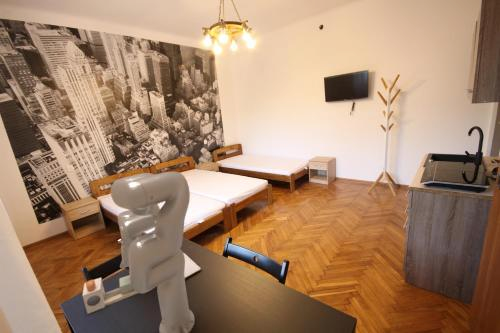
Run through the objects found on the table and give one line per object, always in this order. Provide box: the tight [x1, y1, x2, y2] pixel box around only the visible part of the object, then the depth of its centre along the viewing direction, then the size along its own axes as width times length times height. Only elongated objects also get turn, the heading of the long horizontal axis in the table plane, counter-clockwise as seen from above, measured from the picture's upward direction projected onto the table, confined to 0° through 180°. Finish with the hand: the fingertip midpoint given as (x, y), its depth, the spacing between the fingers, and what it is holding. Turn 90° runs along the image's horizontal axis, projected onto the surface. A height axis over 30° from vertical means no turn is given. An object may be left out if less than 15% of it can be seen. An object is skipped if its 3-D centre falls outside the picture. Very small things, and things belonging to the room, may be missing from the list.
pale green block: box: [104, 286, 139, 307], centre depth 102 cm, size 7×18×6 cm, turn 120°
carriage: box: [118, 274, 134, 294], centre depth 102 cm, size 6×10×10 cm, turn 120°
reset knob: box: [85, 279, 96, 291], centre depth 93 cm, size 3×3×3 cm
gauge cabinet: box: [82, 277, 106, 315], centre depth 96 cm, size 8×6×9 cm
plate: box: [183, 252, 202, 279], centre depth 114 cm, size 19×19×2 cm
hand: (139, 274), depth 104 cm, fingers closed on carriage, 3 cm apart
